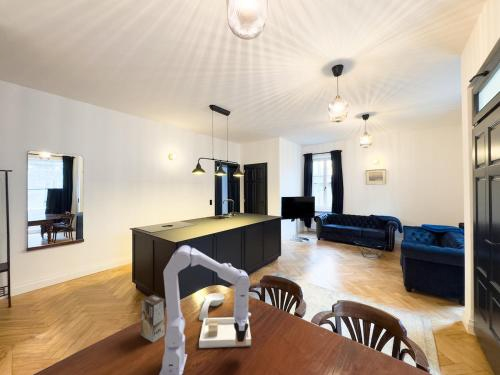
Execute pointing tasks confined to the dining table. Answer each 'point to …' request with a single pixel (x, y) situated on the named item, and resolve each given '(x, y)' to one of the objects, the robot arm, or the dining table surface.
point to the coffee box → (153, 318)
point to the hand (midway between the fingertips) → (240, 337)
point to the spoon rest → (210, 303)
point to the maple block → (213, 328)
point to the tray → (222, 334)
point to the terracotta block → (240, 342)
